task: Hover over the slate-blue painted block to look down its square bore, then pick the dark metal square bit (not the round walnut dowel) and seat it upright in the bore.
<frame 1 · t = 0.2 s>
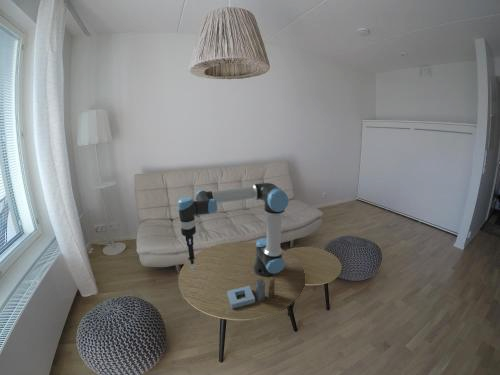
hand: (191, 260, 132), 27 cm above the table, fingers open, 13 cm apart
square bit: (260, 298, 141), on the table
bore block: (240, 298, 141), on the table
walnut dowel: (271, 295, 143), on the table
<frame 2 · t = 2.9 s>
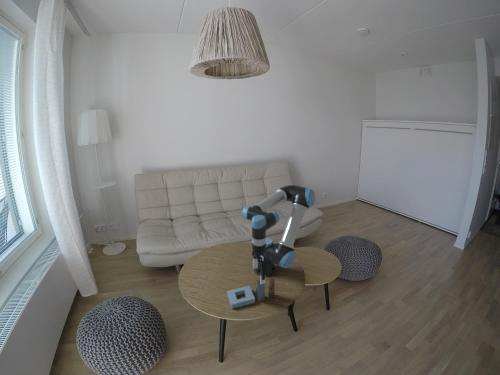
hand: (258, 275, 136), 17 cm above the table, fingers open, 13 cm apart
nothing on the table moved.
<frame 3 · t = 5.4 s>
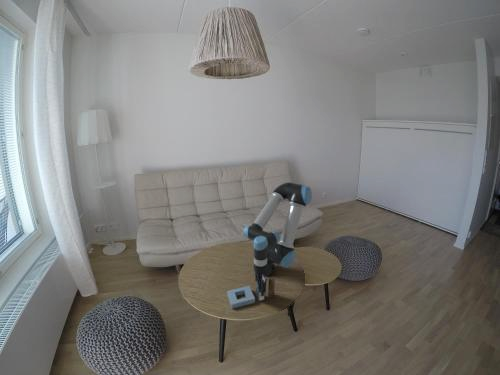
hand: (260, 296, 141), 2 cm above the table, fingers closed on square bit, 4 cm apart
square bit: (260, 298, 141), on the table, touching gripper
everything else where it was.
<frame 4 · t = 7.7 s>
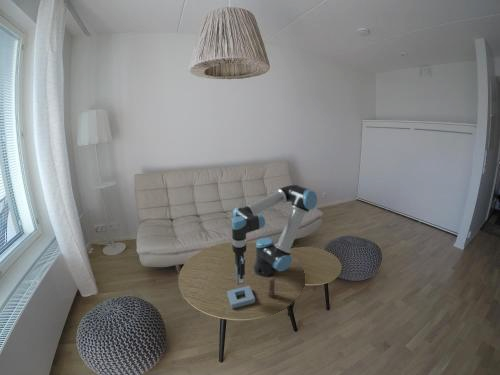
hand: (240, 279, 137), 14 cm above the table, fingers closed on square bit, 4 cm apart
square bit: (240, 282, 137), point 12 cm above the table, touching gripper
everything else where it was.
when the fingers open (3 cm above the table, at t = 9.8 s): square bit drops 2 cm, resting in bore block.
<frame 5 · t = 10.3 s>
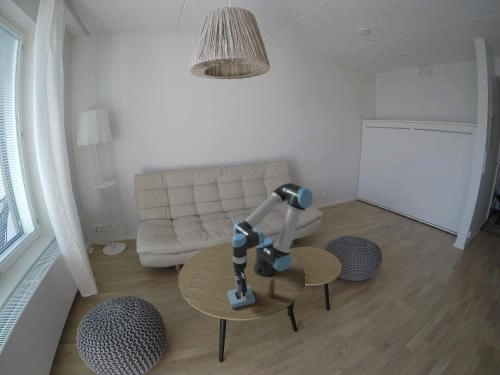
hand: (240, 291, 140), 5 cm above the table, fingers open, 11 cm apart
square bit: (240, 298, 141), resting in bore block
everything else where it was.
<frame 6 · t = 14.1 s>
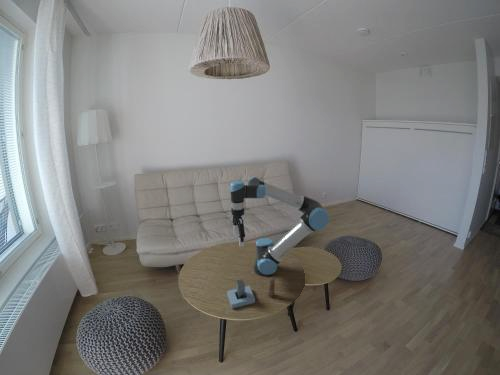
hand: (238, 240, 144), 32 cm above the table, fingers open, 13 cm apart
nothing on the table moved.
at the end: square bit 0.0 cm off-centre on the bore block, point 0.0 cm above the bore block's base; square bit tilted 0°; the gripper is holding nothing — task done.
